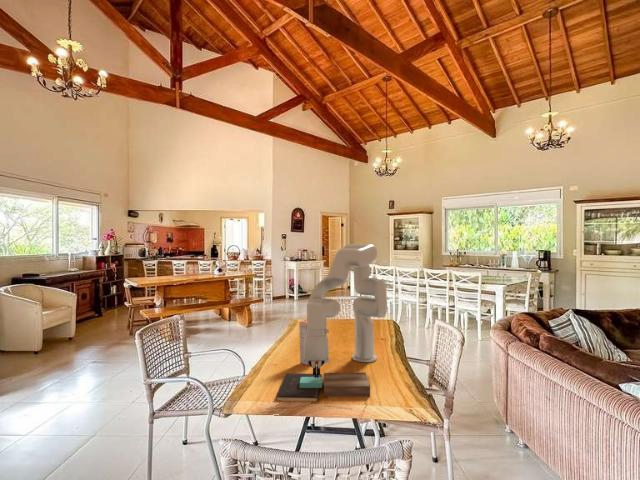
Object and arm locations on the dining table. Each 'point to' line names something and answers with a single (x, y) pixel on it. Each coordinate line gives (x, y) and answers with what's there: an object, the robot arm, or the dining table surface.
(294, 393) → the hardcover book
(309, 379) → the teal rectangular block
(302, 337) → the cracker box
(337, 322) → the dining table surface
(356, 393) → the brown flat block
